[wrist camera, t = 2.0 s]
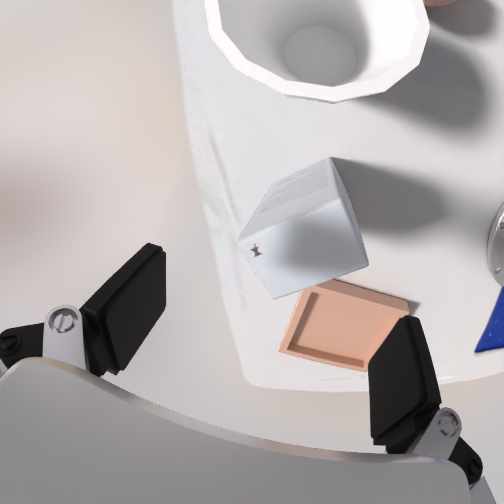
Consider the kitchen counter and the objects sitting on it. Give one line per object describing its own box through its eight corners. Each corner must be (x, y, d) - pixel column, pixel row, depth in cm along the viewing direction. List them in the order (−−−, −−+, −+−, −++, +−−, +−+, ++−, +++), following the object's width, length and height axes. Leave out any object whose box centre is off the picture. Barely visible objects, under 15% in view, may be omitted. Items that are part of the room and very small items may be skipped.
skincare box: (293, 222, 26) (269, 302, 16) (271, 182, 25) (231, 242, 14) (351, 197, 23) (371, 268, 13) (331, 154, 22) (340, 194, 12)
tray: (406, 300, 27) (410, 312, 25) (365, 360, 33) (365, 372, 31) (307, 272, 28) (306, 283, 26) (281, 340, 34) (278, 351, 32)
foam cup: (395, 82, 17) (466, 59, 6) (304, 126, 21) (286, 141, 10) (332, -4, 14) (334, -88, 3) (244, 42, 18) (169, -9, 8)
